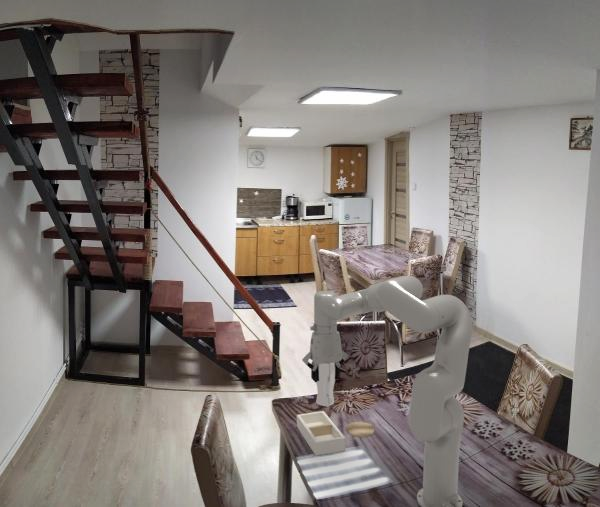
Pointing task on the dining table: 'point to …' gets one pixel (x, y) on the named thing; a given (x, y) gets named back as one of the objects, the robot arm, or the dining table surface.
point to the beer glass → (325, 383)
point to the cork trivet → (360, 429)
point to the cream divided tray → (320, 433)
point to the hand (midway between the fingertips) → (325, 379)
